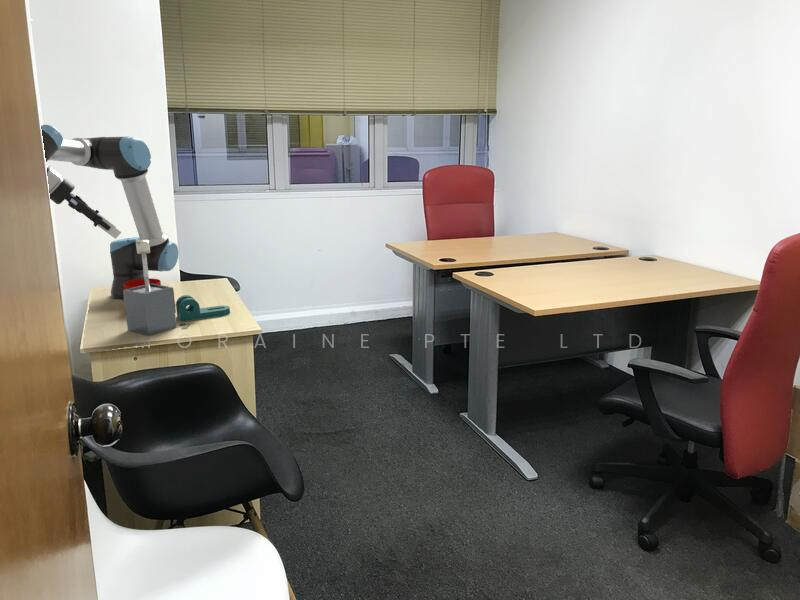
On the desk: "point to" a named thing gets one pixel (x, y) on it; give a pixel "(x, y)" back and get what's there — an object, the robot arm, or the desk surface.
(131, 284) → the ceramic cup
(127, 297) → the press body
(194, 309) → the bracket
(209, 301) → the desk surface
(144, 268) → the plunger
